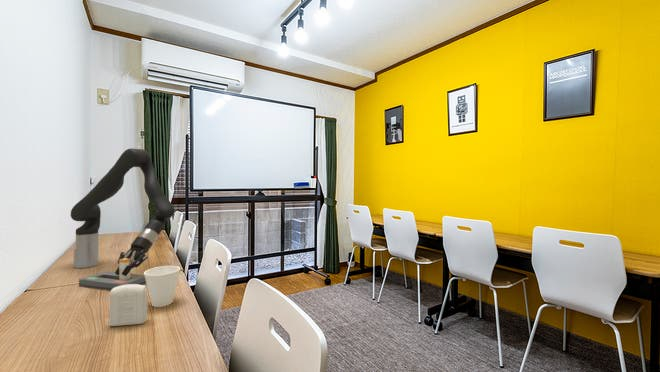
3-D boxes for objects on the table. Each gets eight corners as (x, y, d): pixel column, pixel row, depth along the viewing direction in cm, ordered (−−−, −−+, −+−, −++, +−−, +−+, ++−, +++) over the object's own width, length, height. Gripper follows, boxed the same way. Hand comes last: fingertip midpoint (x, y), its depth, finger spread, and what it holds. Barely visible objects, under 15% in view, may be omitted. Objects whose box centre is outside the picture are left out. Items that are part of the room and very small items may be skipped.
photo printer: (149, 318, 96) (149, 281, 96) (144, 324, 92) (144, 285, 92) (114, 321, 94) (113, 283, 94) (107, 328, 90) (106, 288, 90)
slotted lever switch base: (79, 286, 125) (79, 278, 124) (106, 277, 136) (106, 270, 136) (123, 292, 118) (123, 284, 118) (148, 282, 130) (148, 275, 130)
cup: (160, 312, 101) (160, 276, 100) (135, 307, 104) (135, 273, 104) (187, 299, 112) (187, 267, 112) (164, 295, 116) (164, 264, 115)
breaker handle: (119, 283, 125) (119, 259, 125) (124, 281, 127) (124, 258, 127) (124, 283, 124) (124, 260, 124) (130, 281, 127) (130, 258, 126)
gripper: (127, 235, 134) (101, 268, 123) (152, 236, 131) (127, 271, 119) (138, 244, 140) (113, 277, 128) (162, 245, 136) (138, 280, 125)
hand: (120, 274), depth 124 cm, fingers closed on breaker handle, 3 cm apart
